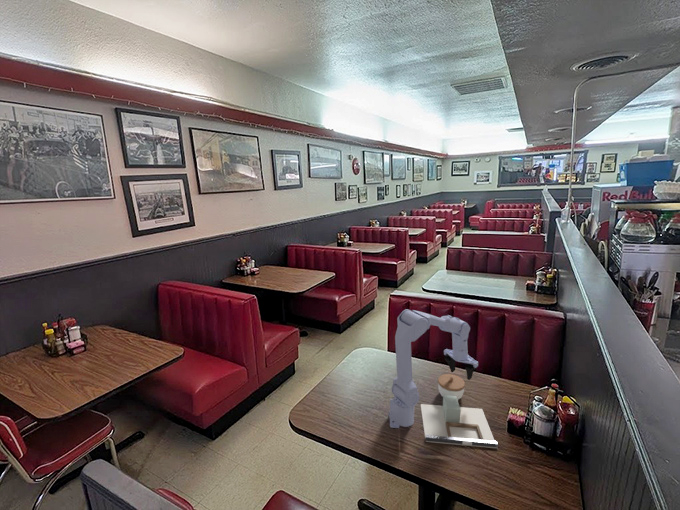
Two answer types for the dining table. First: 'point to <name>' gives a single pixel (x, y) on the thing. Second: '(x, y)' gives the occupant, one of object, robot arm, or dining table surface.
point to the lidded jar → (451, 385)
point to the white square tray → (457, 427)
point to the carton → (451, 409)
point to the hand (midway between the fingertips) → (461, 374)
